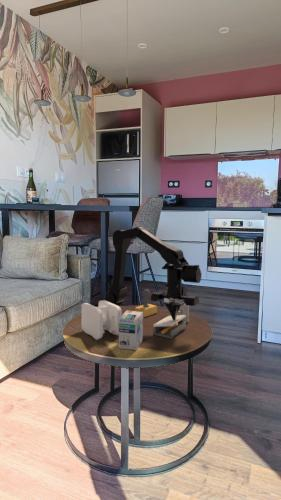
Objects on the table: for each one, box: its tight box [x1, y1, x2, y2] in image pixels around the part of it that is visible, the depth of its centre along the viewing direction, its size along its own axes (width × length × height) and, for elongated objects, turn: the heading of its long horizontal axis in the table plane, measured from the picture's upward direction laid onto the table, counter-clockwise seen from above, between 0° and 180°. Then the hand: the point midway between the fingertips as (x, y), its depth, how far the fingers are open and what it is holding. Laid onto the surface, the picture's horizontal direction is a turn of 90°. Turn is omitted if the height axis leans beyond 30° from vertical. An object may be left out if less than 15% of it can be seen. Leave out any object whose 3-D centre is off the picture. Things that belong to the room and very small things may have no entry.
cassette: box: [168, 304, 190, 323], centre depth 150 cm, size 12×2×8 cm, turn 37°
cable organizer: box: [81, 299, 123, 341], centre depth 128 cm, size 15×11×12 cm
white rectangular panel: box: [152, 315, 186, 327], centre depth 133 cm, size 8×14×1 cm, turn 150°
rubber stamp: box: [134, 288, 158, 318], centre depth 155 cm, size 10×6×12 cm, turn 139°
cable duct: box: [152, 321, 187, 340], centre depth 133 cm, size 8×14×3 cm, turn 150°
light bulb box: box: [118, 310, 144, 351], centre depth 118 cm, size 11×7×11 cm, turn 168°
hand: (174, 319), depth 132 cm, fingers closed, pressing on white rectangular panel
